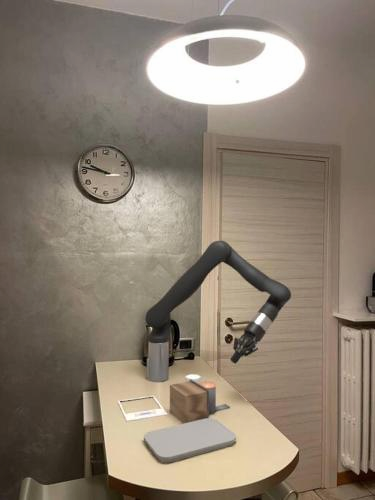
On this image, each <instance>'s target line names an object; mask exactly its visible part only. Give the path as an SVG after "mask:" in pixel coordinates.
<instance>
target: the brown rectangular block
mask: <svg viewBox="0 0 375 500" xmlns="http://www.w3.org/2000/svg"><path fill="white" fill-rule="evenodd" d="M228 409H231V406H229V405H228V404H226V403H222V404H220V405H216V410H215V412H212V413H211V414H213V413H216V412H217V413H218V412H220V411H223V410H228ZM169 413H170V414H171V415H172V416H173V417H174V418H175V419H177V420H178V421H179V422H180V423H181V424H184V423H188V422H193V421H197V420H201V419H206V418H210V413H209V390H208V389H207V388H205V387H203V386H202V385H200V384H198V383H197V382H195V381H193V380H192V379H190V381H188V382H185V381H183V382H179V383H175V384H169Z"/></svg>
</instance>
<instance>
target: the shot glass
mask: <svg viewBox="0 0 375 500" xmlns="http://www.w3.org/2000/svg"><path fill="white" fill-rule="evenodd" d="M184 379H185V380H184V382H188V381H190V379H192V380H193V381H195V382H197V383H198V384H199V383H201V382H202V375H200V374H198V373H197V374H196V373H194V374H193V373H191V374H186V375H185V376H184Z"/></svg>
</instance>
